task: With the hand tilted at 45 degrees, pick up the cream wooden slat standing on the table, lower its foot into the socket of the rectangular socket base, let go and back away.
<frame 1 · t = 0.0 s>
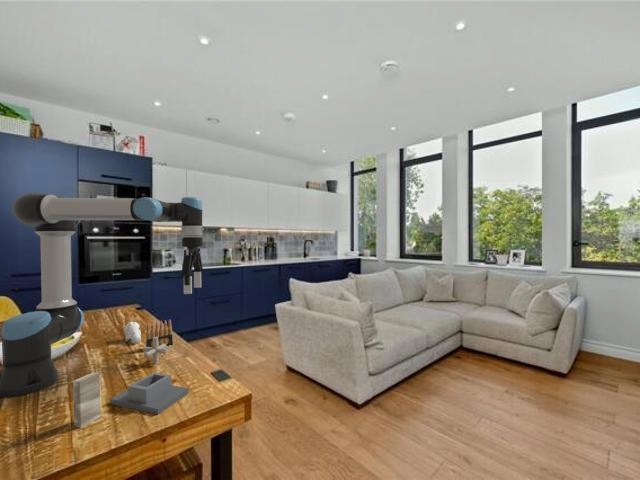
hand: (193, 290, 120), 28 cm above the table, tool pointing down, fingers open, 13 cm apart
pipe connector: (155, 363, 118), on the table
rectangular socket base: (150, 398, 93), on the table
penguin figurine: (134, 342, 142), on the table
slat: (87, 421, 81), on the table
ammunition clip: (159, 348, 134), on the table
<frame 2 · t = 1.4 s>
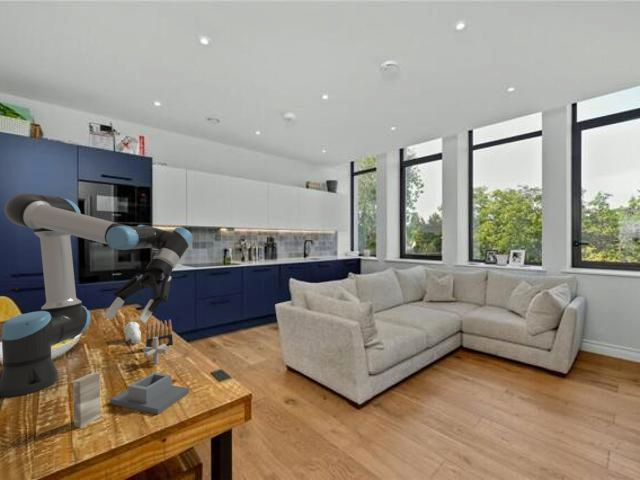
hand: (124, 319, 91), 25 cm above the table, tool tilted 45°, fingers open, 13 cm apart
nothing on the table moved.
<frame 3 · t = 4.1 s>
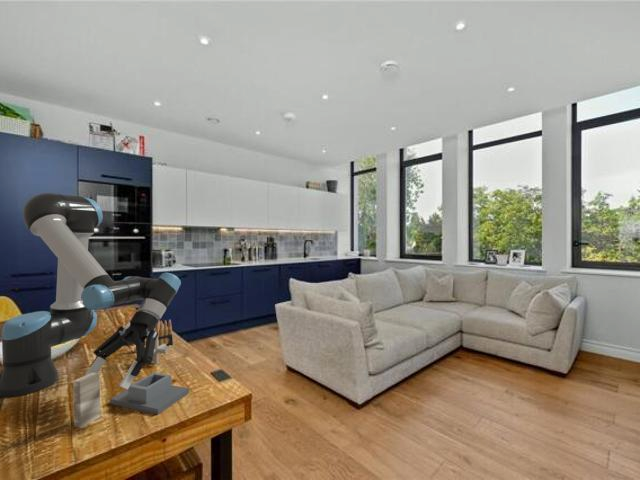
hand: (104, 384, 84), 9 cm above the table, tool tilted 45°, fingers open, 13 cm apart
nothing on the table moved.
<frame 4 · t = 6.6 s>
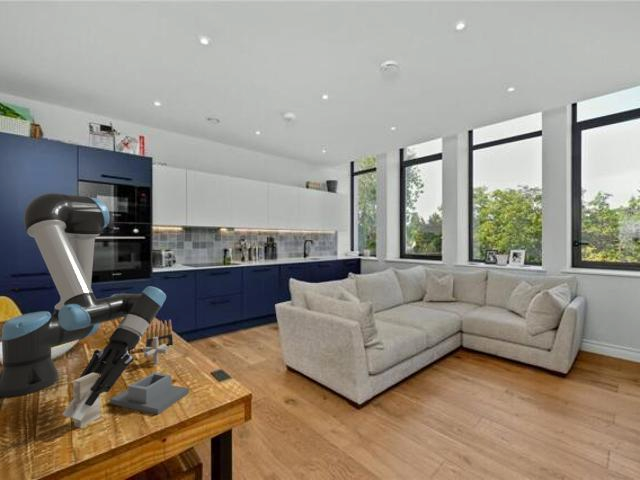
hand: (71, 417, 77), 3 cm above the table, tool tilted 45°, fingers closed on slat, 2 cm apart
slat: (87, 421, 81), on the table, touching gripper
everything else where it was.
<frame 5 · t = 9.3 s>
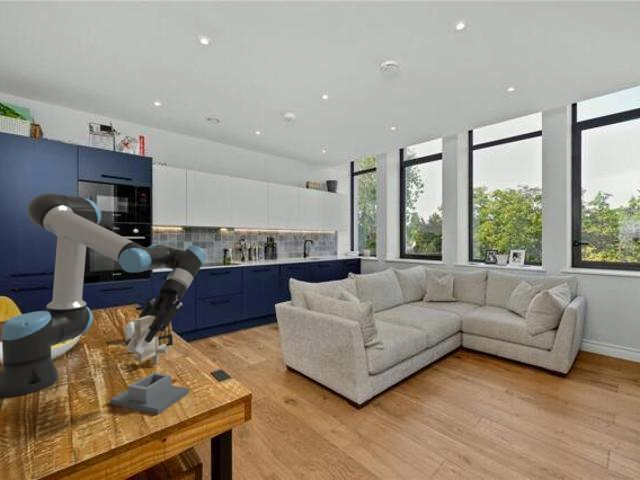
hand: (133, 351, 87), 16 cm above the table, tool tilted 45°, fingers closed on slat, 2 cm apart
slat: (145, 357, 91), point 13 cm above the table, touching gripper
everything else where it was.
when the fingers open (7 cm above the table, at t = 12.2 s): slat drops 2 cm, resting on rectangular socket base.
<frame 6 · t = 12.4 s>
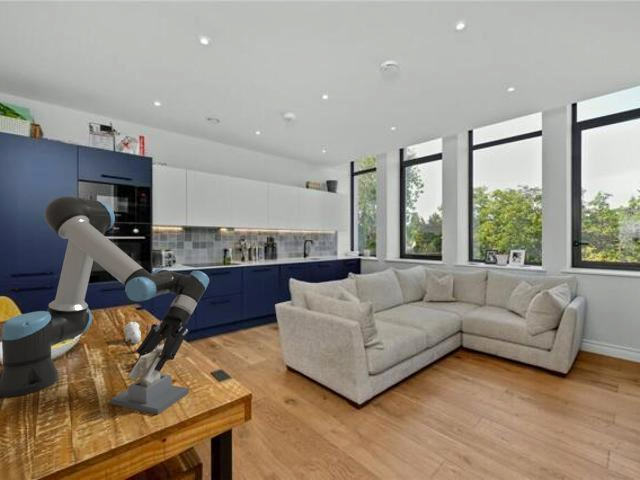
hand: (140, 380, 89), 7 cm above the table, tool tilted 45°, fingers open, 5 cm apart
slat: (150, 393, 93), point 1 cm above the table, touching rectangular socket base
everything else where it was.
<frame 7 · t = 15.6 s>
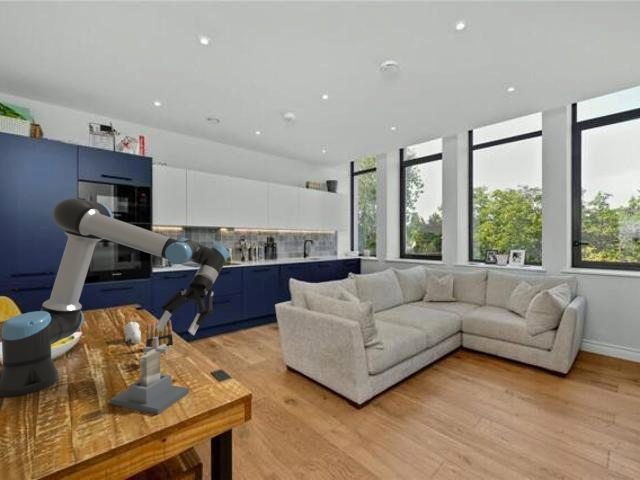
hand: (174, 331, 101), 18 cm above the table, tool tilted 45°, fingers open, 13 cm apart
nothing on the table moved.
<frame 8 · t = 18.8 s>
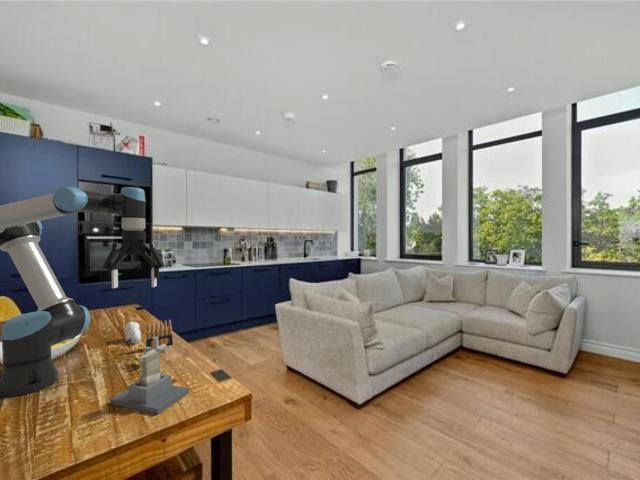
hand: (134, 287, 112), 31 cm above the table, tool pointing down, fingers open, 13 cm apart
nothing on the table moved.
at the end: slat 0.0 cm off-centre on the rectangular socket base, point 1.5 cm above the rectangular socket base's base; slat tilted 0°; the gripper is holding nothing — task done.
